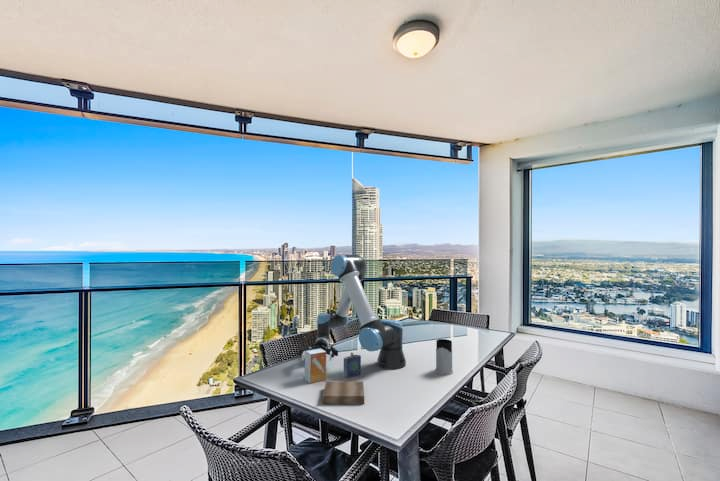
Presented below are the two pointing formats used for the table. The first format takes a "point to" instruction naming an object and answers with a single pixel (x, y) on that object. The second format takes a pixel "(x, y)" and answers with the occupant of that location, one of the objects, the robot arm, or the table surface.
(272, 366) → the table surface
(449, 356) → the glass holder
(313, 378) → the small box
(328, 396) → the walnut plinth
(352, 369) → the flask
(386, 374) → the table surface
